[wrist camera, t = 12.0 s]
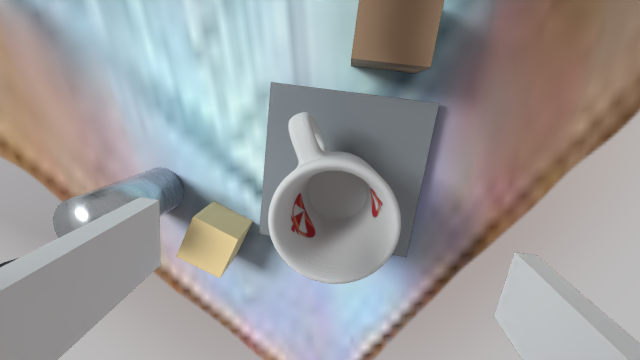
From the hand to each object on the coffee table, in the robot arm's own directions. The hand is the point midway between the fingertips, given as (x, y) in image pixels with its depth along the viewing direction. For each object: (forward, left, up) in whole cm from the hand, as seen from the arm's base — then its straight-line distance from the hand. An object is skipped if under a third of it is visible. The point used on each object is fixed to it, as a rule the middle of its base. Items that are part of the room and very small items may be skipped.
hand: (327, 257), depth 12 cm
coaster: (0, 0, -16) cm, 16 cm away
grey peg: (-16, -4, -16) cm, 23 cm away
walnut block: (+2, +11, -16) cm, 19 cm away
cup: (-1, 0, -15) cm, 15 cm away
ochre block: (-10, -7, -16) cm, 20 cm away
